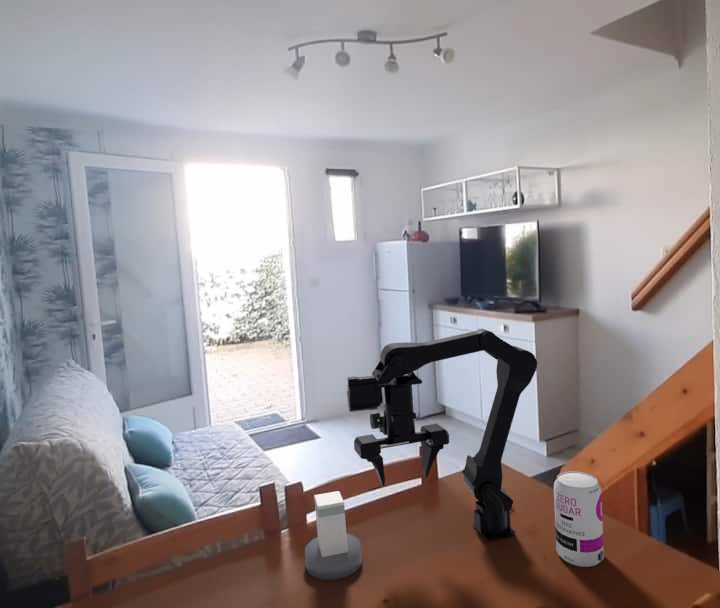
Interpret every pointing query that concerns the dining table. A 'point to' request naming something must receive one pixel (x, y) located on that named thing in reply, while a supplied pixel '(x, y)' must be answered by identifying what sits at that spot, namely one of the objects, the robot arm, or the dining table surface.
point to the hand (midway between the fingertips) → (404, 481)
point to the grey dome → (333, 560)
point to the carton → (331, 523)
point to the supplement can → (578, 519)
